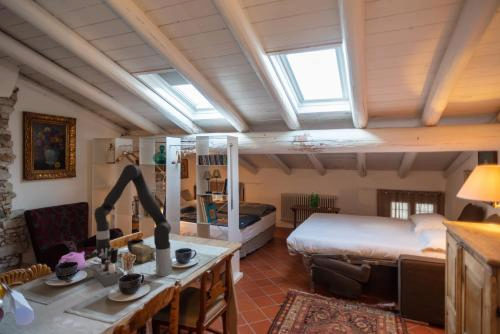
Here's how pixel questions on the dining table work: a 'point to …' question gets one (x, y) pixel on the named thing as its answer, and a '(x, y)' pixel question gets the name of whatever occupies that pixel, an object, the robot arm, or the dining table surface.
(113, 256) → the coffee mug
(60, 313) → the dining table surface
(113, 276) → the console
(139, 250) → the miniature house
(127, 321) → the dining table surface
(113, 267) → the knob
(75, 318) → the dining table surface
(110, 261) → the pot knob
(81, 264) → the teapot
